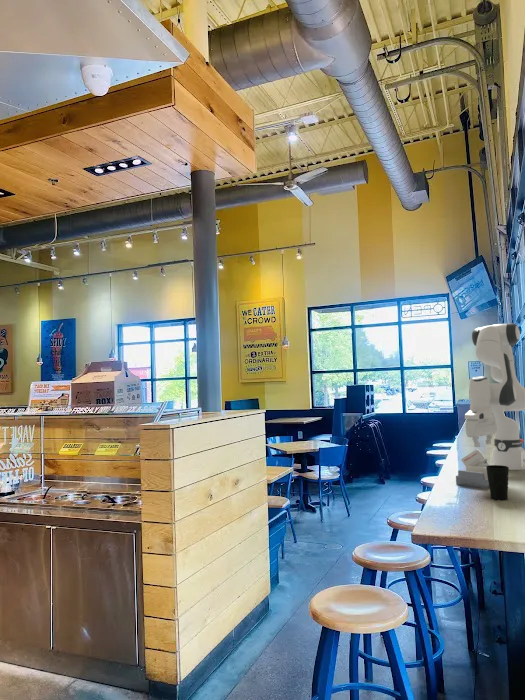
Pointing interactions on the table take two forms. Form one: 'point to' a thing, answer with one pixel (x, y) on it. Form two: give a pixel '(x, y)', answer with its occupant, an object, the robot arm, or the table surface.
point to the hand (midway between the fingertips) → (483, 445)
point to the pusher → (477, 470)
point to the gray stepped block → (472, 479)
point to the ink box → (475, 459)
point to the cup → (498, 481)
